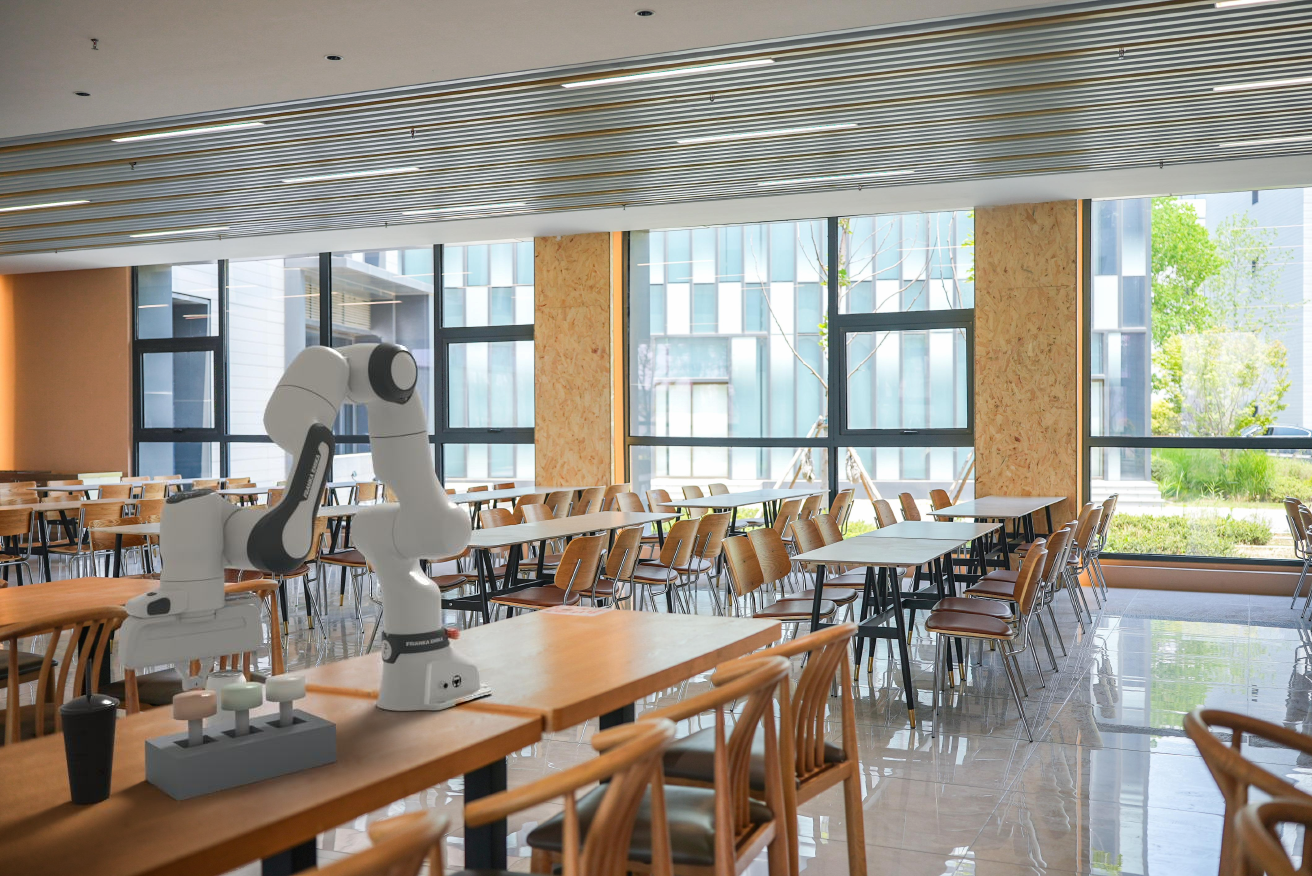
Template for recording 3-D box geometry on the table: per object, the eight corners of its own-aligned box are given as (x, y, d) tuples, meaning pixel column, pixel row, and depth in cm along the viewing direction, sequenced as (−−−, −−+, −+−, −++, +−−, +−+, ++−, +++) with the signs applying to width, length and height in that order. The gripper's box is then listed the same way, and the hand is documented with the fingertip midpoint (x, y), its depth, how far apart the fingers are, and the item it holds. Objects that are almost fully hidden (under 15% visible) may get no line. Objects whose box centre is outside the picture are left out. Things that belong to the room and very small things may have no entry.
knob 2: (296, 724, 165) (295, 672, 165) (312, 730, 161) (311, 677, 161) (260, 732, 161) (259, 678, 161) (276, 739, 156) (274, 684, 156)
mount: (298, 744, 169) (297, 708, 169) (336, 761, 159) (336, 723, 159) (145, 779, 152) (144, 739, 152) (177, 800, 142) (177, 758, 142)
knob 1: (208, 743, 155) (207, 688, 155) (223, 750, 151) (222, 694, 151) (167, 751, 151) (166, 695, 151) (182, 760, 147) (181, 701, 147)
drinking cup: (56, 811, 139) (53, 667, 139) (64, 794, 146) (61, 657, 146) (118, 802, 142) (115, 661, 142) (123, 786, 149) (120, 652, 149)
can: (232, 749, 167) (230, 677, 167) (197, 748, 168) (196, 676, 168) (255, 738, 173) (253, 668, 173) (221, 737, 174) (220, 668, 175)
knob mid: (254, 733, 160) (253, 680, 160) (269, 740, 156) (268, 685, 156) (215, 741, 156) (214, 686, 156) (230, 749, 151) (229, 692, 152)
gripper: (253, 587, 161) (254, 674, 160) (113, 603, 146) (114, 698, 146) (269, 591, 156) (271, 680, 156) (127, 607, 142) (128, 705, 142)
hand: (194, 689), depth 151 cm, fingers closed
